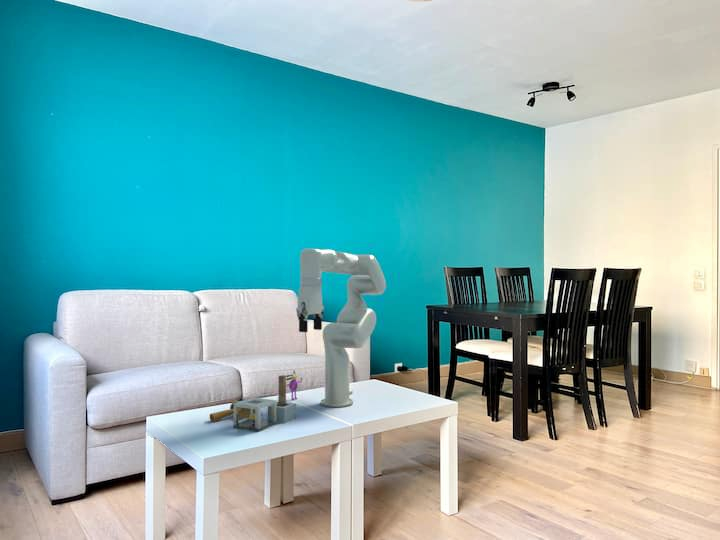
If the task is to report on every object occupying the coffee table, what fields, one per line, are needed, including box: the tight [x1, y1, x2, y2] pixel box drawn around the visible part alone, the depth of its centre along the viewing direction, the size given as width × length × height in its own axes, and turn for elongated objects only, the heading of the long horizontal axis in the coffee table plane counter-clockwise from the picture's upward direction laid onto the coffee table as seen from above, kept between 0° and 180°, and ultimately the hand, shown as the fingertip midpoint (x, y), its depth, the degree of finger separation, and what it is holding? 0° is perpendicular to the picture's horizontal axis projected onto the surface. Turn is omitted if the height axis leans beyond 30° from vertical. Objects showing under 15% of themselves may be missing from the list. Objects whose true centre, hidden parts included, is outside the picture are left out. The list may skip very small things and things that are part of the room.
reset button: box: [248, 414, 255, 422], centre depth 177 cm, size 4×4×2 cm
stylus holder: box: [266, 401, 297, 424], centre depth 185 cm, size 7×7×5 cm
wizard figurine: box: [285, 369, 303, 401], centre depth 215 cm, size 11×3×12 cm, turn 151°
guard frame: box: [232, 396, 278, 433], centre depth 177 cm, size 10×10×8 cm
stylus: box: [277, 374, 287, 407], centre depth 186 cm, size 3×3×15 cm
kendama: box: [209, 397, 257, 423], centre depth 187 cm, size 8×6×18 cm
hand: (310, 330), depth 191 cm, fingers open, 9 cm apart
